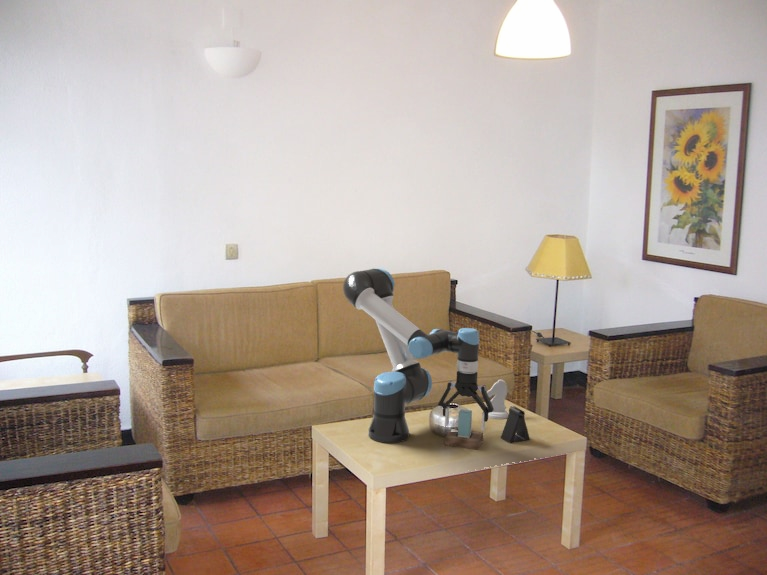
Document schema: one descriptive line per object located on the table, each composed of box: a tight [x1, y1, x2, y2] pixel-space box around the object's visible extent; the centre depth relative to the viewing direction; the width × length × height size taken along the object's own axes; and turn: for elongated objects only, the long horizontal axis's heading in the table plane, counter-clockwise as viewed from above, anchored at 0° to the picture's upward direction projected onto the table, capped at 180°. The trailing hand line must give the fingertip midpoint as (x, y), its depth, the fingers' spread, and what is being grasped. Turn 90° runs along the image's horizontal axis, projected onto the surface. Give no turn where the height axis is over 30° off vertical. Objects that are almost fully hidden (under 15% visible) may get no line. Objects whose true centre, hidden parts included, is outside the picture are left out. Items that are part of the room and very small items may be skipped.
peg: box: [457, 408, 473, 438], centre depth 288 cm, size 4×4×12 cm
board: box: [444, 430, 484, 450], centre depth 288 cm, size 12×10×3 cm
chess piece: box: [486, 379, 509, 420], centre depth 319 cm, size 10×10×15 cm
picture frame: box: [500, 405, 531, 444], centre depth 293 cm, size 9×6×12 cm, turn 114°
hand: (464, 427), depth 288 cm, fingers open, 13 cm apart
